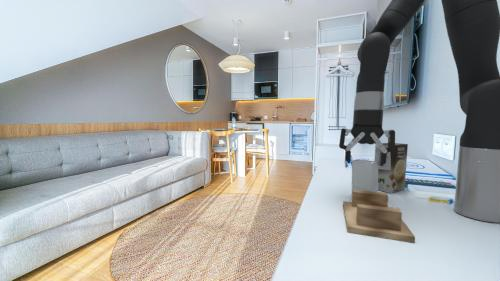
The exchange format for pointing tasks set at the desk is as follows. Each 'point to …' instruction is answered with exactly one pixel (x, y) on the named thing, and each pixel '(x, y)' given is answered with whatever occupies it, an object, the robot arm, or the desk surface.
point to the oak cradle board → (374, 231)
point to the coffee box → (392, 168)
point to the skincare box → (365, 175)
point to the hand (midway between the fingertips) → (364, 164)
